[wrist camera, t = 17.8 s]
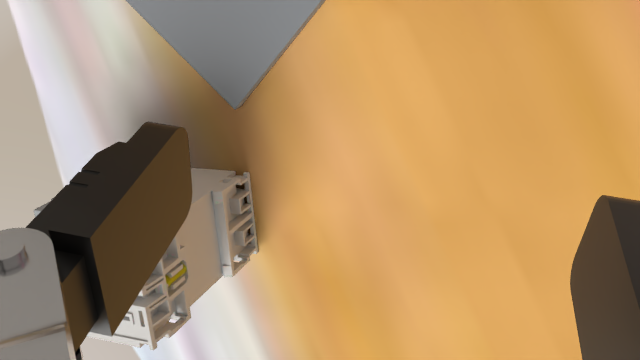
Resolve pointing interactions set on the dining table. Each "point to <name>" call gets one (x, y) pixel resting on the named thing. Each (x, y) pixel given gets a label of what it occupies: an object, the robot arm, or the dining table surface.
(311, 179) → the dining table surface
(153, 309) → the circuit breaker
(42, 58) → the dining table surface
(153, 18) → the lockout board
